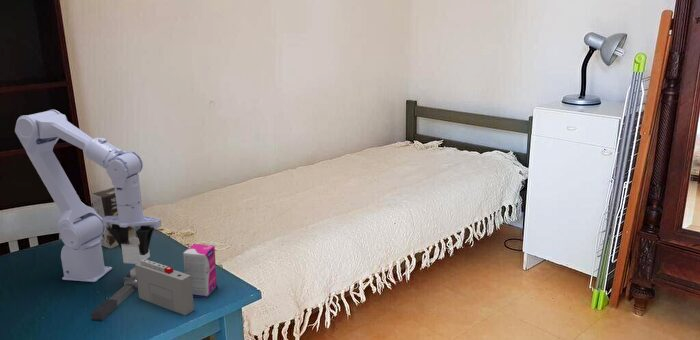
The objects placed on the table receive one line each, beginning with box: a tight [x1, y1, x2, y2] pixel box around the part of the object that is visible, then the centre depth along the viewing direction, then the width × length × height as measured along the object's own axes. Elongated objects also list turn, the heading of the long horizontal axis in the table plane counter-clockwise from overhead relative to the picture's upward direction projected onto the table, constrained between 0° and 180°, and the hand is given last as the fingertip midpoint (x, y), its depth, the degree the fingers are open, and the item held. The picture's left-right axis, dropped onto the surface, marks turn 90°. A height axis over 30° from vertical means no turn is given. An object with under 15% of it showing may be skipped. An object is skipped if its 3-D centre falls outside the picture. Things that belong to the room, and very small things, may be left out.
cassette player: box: [134, 259, 195, 316], centre depth 128 cm, size 16×3×10 cm, turn 60°
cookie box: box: [91, 186, 137, 249], centre depth 162 cm, size 9×6×16 cm
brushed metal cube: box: [121, 236, 151, 265], centre depth 137 cm, size 5×5×5 cm
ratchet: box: [90, 267, 138, 322], centre depth 132 cm, size 20×6×4 cm, turn 171°
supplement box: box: [182, 243, 218, 299], centre depth 133 cm, size 6×6×12 cm
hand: (135, 252), depth 137 cm, fingers closed on brushed metal cube, 5 cm apart
